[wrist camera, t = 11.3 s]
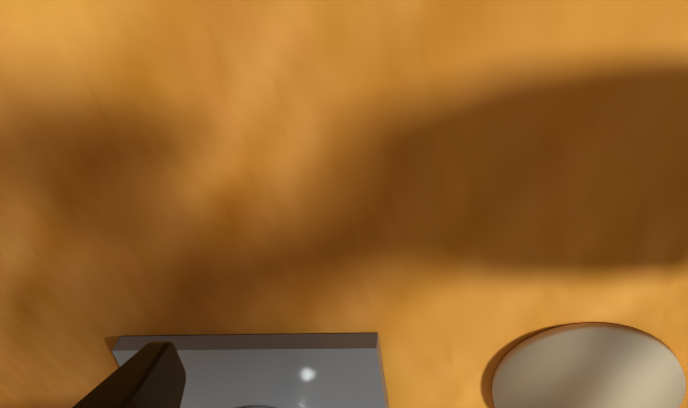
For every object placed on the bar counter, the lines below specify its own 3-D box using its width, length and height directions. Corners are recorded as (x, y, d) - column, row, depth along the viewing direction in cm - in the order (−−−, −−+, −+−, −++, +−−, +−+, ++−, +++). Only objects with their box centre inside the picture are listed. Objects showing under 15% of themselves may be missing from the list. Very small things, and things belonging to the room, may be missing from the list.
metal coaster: (698, 320, 25) (703, 328, 25) (665, 442, 30) (668, 451, 30) (491, 324, 27) (492, 331, 26) (491, 439, 32) (492, 447, 31)
